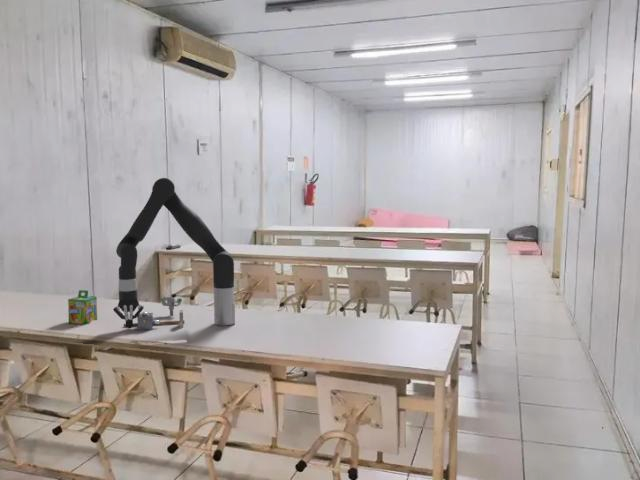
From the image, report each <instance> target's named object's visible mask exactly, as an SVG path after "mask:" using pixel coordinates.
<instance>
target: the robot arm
mask: <svg viewBox="0 0 640 480" xmlns="http://www.w3.org/2000/svg"><path fill="white" fill-rule="evenodd" d="M175 189H176V188H175V184H174V182H173V181H172V180H171V179H170V178H168V177H161V178H158V179H157V180H155V182H154V183H153V185H152V187H151V194H150V195H149V197H148V200H147V202H146V204H145V205H144V206H143V208H142V210H141V211H140V213H139V214H138V215H137V217H136V218H135V220H134V221H133V223H132V225H131V227H130V228H129V230H128V232H127V233H126V234H125V236H123V238H122V239H121V240H120V242H119V243H118V244H117V247H116V251H115V253H116V255H117V256H118V257H119V258H120V265H119V268H118V288H117V289H118V303H117V306H114V307H113V312H114V313H115V314H116V315H117V316H118V317H119V318H120V320H124V321H125V324H126V327H125V328H127V329H128V330H129V329H132V326H133V323H134V321H133V320H134V319H137V317H138V315H139V314H141V313H142V311H143V310H144V307H145V306H144V305H141V304H140V302H139V300H138V282H137V269H136V268H137V262H138V250H137V246H138V244H139V243H140V242H142V241H143V240H144V239H145V237H146V236H147V234H148V232H149V230H150V229H151V227H152V225H153V223H154V221H155V219H156V217H158V214H159V213H160V211H161V209H162V208H163V206H164V207H165V208H166V209H167V210H168V211H169V212H170V214H171V215H172V217H173V219H175V221H176V222H177V224H178V225H179V226H180V227H181V229H182V231H183V232H185V234H186V235H187V236H188V237H189V238H190V239H191V240H192V242H194V243H195V245H197V246H199V247H200V248H201V249H202V250H203V251H204V252H205V253H206V255H207V256H208V257H209V259H210V261H211V263H212V268H213V270H212V272H213V273H212V275H213V278H212V280H213V281H212V282H213V314H214V315H213V320H214V321H213V323H214V325H216V326H224V327H225V326H231V325H235V324H236V305H235V262H234V258H233V256H232V255H231V254H230V252H228V250H226V249H225V248H224V247H223V246H222V245H221V244H220V242H219V241H218V240H217V239H216V238H215V236H214V235H213V233H212V231H211V230H210V229H209V228H208V226H207V224H205V222H204V221H203V220H202V218H201V217H200V216H199V215H198V214H197V213H196V212H195V211H194V210H193V209H192V208H190V206H188V205H187V204H186V203H185V202H183V200H182V199H181V198H180V197H179V195H178V194H177V192H176V190H175ZM135 310H137V311H136V312H135ZM134 312H135V314H134ZM123 313H124V314H123Z"/></svg>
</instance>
